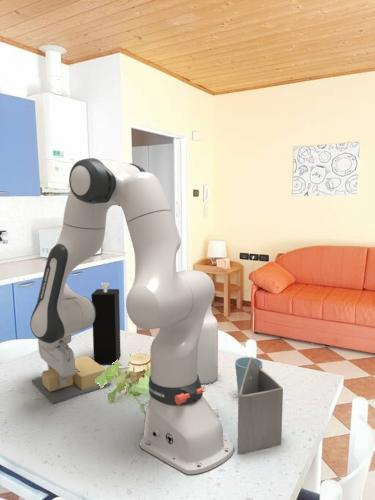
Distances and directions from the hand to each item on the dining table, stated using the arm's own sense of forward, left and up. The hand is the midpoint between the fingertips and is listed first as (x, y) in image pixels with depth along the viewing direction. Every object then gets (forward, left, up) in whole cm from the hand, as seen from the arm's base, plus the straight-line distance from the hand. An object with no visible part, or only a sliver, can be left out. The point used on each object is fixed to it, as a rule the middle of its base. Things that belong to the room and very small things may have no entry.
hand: (57, 381), depth 119 cm
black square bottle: (+9, -21, -2) cm, 23 cm away
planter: (-56, -28, -2) cm, 63 cm away
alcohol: (-23, -38, -2) cm, 45 cm away
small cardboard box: (0, 0, -1) cm, 1 cm away
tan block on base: (0, -4, -2) cm, 5 cm away
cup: (-40, -40, -2) cm, 57 cm away
